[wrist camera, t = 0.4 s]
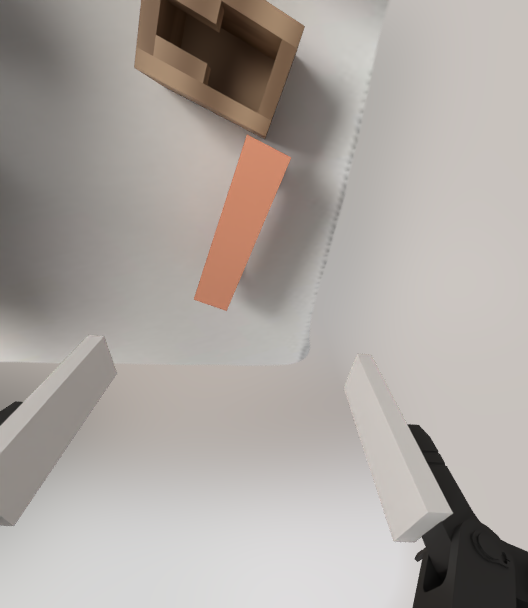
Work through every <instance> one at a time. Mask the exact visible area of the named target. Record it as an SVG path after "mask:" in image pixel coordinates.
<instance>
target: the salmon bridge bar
mask: <svg viewBox="0 0 528 608" xmlns="http://www.w3.org/2000/svg"><path fill="white" fill-rule="evenodd" d="M290 159H291V157H289V156H287V155H285V154H284V153H282V152H280V151H278V150H276V149H274V148H272V147H270V146H268V145H266V144H264V143H262V142H260V141H259V140H257V139H255V138H253V137H251V136H249V135H247V136H246V139H245V142H244V145H243V149H242V152H241V155H240V158H239V161H238V164H237V167H236V170H235V173H234V176H233V179H232V183H231V186H230V189H229V192H228V195H227V198H226V201H225V204H224V207H223V210H222V213H221V217H220V220H219V223H218V226H217V229H216V232H215V235H214V238H213V241H212V244H211V247H210V251H209V254H208V257H207V260H206V263H205V266H204V269H203V272H202V275H201V278H200V281H199V285H198V288H197V291H196V294H195V297H194V300H197V301H200V302H202V303H205V304H208V305H211V306H214V307H217V308H220V309H223V310H226V311H227V309H228V306H229V304H230V302H231V299H232V297H233V295H234V292H235V290H236V287H237V285H238V283H239V280H240V278H241V276H242V273H243V271H244V268H245V266H246V264H247V261H248V259H249V257H250V254H251V252H252V249H253V247H254V245H255V242H256V240H257V238H258V235H259V233H260V231H261V228H262V226H263V223H264V221H265V219H266V216H267V214H268V212H269V209H270V207H271V204H272V202H273V200H274V197H275V195H276V193H277V190H278V188H279V185H280V183H281V181H282V178H283V176H284V174H285V171H286V169H287V167H288V164H289V162H290Z"/></svg>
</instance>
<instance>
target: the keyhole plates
mask: <svg viewBox="0 0 528 608" xmlns="http://www.w3.org/2000/svg"><path fill="white" fill-rule="evenodd" d="M304 27H305V26H304V25H302V24H300V23H299V22H297V21H296V20H294V19H293V18H291V17H290V16H288V15H287V14H285V13H284V12H282V11H281V10H279V9H278V8H276V7H275V6H273V5H272V4H270V3H269V2H267V1H266V0H141V8H140V18H139V27H138V37H137V46H136V56H135V65H134V68H136V69H137V70H139V71H140V72H142V73H143V74H145V75H147V76H148V77H150V78H151V79H153V80H154V81H156V82H158V83H159V84H161V85H162V86H164V87H166V88H168V89H170V90H172V91H174V92H176V93H177V94H179V95H181V96H183V97H185V98H187V99H189V100H191V101H193V102H195V103H197V104H198V105H200V106H202V107H204V108H206V109H208V110H210V111H212V112H214V113H216V114H218V115H219V116H221V117H223V118H225V119H227V120H229V121H231V122H233V123H235V124H237V125H239V126H240V127H242V128H244V129H246V130H248V131H250V132H252V133H254V134H256V135H258V136H260V137H261V138H263V139H265V138H266V135H267V132H268V130H269V127H270V124H271V121H272V119H273V116H274V113H275V110H276V107H277V105H278V102H279V99H280V96H281V94H282V91H283V88H284V85H285V82H286V80H287V77H288V74H289V71H290V68H291V66H292V63H293V60H294V57H295V55H296V52H297V48H298V45H299V42H300V39H301V36H302V33H303V30H304Z"/></svg>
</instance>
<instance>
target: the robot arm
mask: <svg viewBox="0 0 528 608" xmlns="http://www.w3.org/2000/svg"><path fill="white" fill-rule="evenodd" d="M116 374H117V372H116V369H115V366H114V363H113V360H112V357H111V354H110V351H109V349H108V346H107V343H106V340H105V337H104V336H97V335H88V336H87V337H86V338H85V339H84V340H83V341H82V342H81V343H80V344H79V345H78V346H77V348H76V349H75V350H74V351H73V352H72V353H71V354H70V355H69V356H68V357H67V358H66V359H65V360H64V361H63V362H62V363H61V364H60V365H59V366H58V367H57V368H56V369H55V370H54V371H53V372H52V373H51V374H50V375H49V376H48V377H47V378H46V379H45V380H44V381H43V383H42V384H41V385H40V386H39V387H38V388H37V389H36V390H35V391H34V392H33V393H32V394H31V395H30V396H29V397H28V398H27V399H26V400H25V401H24V402H14V403H12V404H11V405H9V406H8V407H6V408H5V409H3V410H2V411H0V525H4V526H14V525H15V524H16V522H17V521H18V519H19V518H20V516H21V515H22V513H23V512H24V510H25V509H26V507H27V506H28V504H29V503H30V502H31V500H32V498H33V497H34V496H35V494H36V492H37V491H38V490H39V488H40V487H41V485H42V484H43V482H44V481H45V479H46V478H47V476H48V475H49V473H50V472H51V470H52V469H53V467H54V466H55V465H56V463H57V462H58V460H59V458H60V457H61V456H62V454H63V453H64V451H65V450H66V448H67V447H68V445H69V444H70V442H71V441H72V439H73V438H74V436H75V435H76V433H77V432H78V430H79V429H80V427H81V426H82V425H83V423H84V422H85V420H86V419H87V417H88V416H89V414H90V413H91V411H92V410H93V408H94V407H95V405H96V404H97V402H98V401H99V399H100V398H101V396H102V395H103V393H104V392H105V390H106V389H107V388H108V386H109V384H110V383H111V382H112V380H113V378H114V377H115V376H116ZM344 390H345V393H346V397H347V400H348V403H349V406H350V409H351V412H352V415H353V418H354V421H355V424H356V427H357V431H358V433H359V437H360V440H361V443H362V446H363V449H364V452H365V455H366V458H367V461H368V464H369V467H370V470H371V474H372V477H373V480H374V483H375V486H376V489H377V492H378V495H379V498H380V501H381V504H382V507H383V510H384V514H385V517H386V520H387V523H388V526H389V529H390V532H391V535H392V538H393V541H395V542H416V541H417V540H418V539H420V538H421V537H422V539H423V541H424V544H425V546H426V548H424V549H423V550H421V551H420V552H418V553H417V555H416V557H415V560H416V561H417V562H418V561H420V560H421V559H422V563H421V568H420V573H419V579H418V584H417V588H416V593H415V598H414V603H413V608H528V552H527V551H525V550H522V549H520V548H518V547H515V546H513V545H510V544H508V543H506V542H504V541H502V540H500V538H499V537H498V536H497V535H496V534H495V533H494V532H493V531H492V530H491V529H490V528H489V527H487V526H486V525H484V524H482V523H481V522H480V521H479V520H478V518H477V517H476V516H475V514H474V513H473V511H472V510H471V508H470V506H469V504H468V503H467V501H466V499H465V497H464V495H463V494H462V492H461V490H460V489H459V487H458V485H457V483H456V481H455V480H454V478H453V476H452V475H451V473H450V471H449V469H448V468H447V466H445V463H444V461H443V459H442V457H441V455H440V454H439V453H438V450H437V448H436V447H435V445H434V443H433V441H432V440H431V438H430V437H429V435H428V434H427V433H426V432H425V431H424V430H423V429H422V428H421V427H420V426H419V425H410V424H409V425H408V424H407V423H406V421H405V419H404V417H403V415H402V414H401V412H400V409H399V408H398V406H397V404H396V402H395V400H394V398H393V396H392V394H391V392H390V390H389V388H388V386H387V384H386V382H385V380H384V378H383V376H382V374H381V372H380V371H379V369H378V367H377V365H376V363H375V361H374V359H373V357H372V355H367V354H357V356H356V358H355V361H354V363H353V366H352V368H351V371H350V373H349V376H348V378H347V381H346V383H345V386H344Z"/></svg>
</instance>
